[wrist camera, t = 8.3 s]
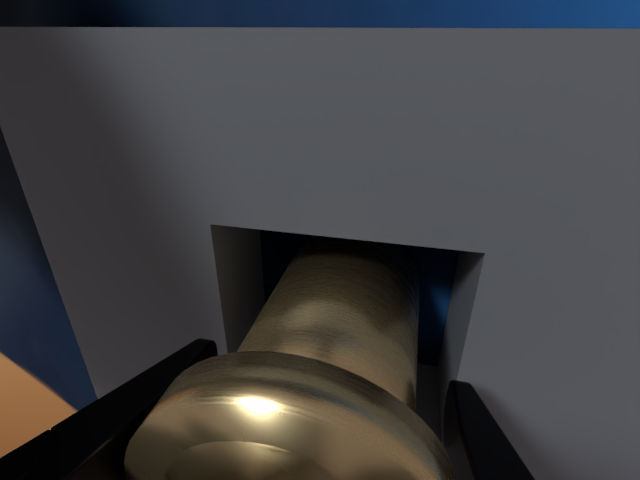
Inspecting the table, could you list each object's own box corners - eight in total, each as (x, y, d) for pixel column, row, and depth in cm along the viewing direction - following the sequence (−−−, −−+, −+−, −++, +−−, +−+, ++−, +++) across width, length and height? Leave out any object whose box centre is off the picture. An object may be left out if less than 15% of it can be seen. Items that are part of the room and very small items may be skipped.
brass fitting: (273, 337, 14) (157, 567, 8) (264, 194, 12) (86, 370, 6) (431, 365, 13) (433, 654, 7) (459, 212, 10) (500, 459, 4)
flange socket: (163, 392, 17) (118, 456, 15) (73, 28, 11) (-36, 26, 8) (565, 471, 14) (598, 569, 12) (771, 30, 8) (948, 29, 5)
